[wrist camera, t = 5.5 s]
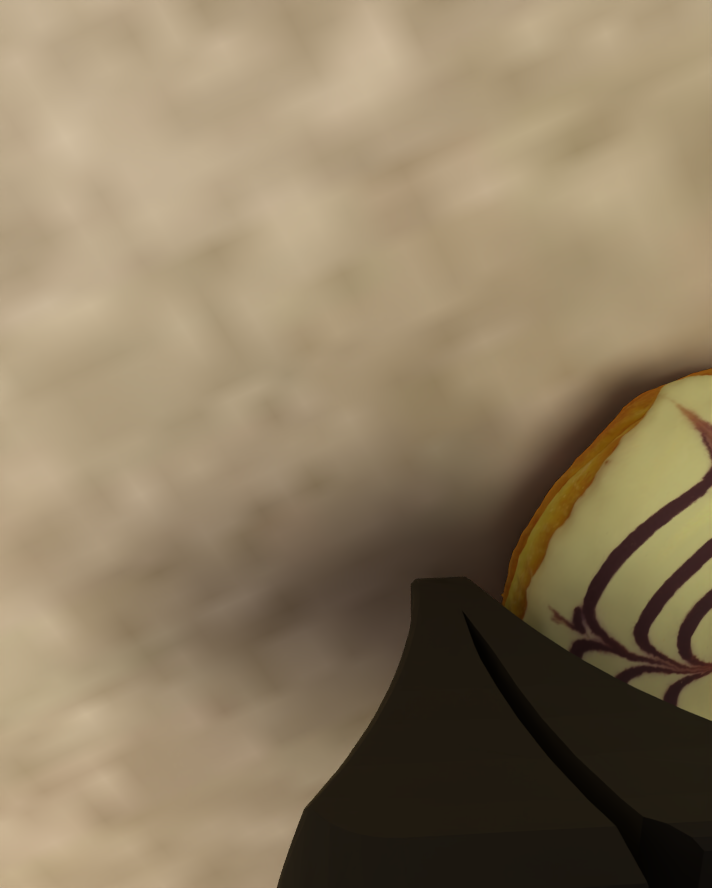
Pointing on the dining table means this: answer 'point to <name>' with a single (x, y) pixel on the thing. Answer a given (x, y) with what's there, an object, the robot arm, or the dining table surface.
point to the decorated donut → (631, 549)
